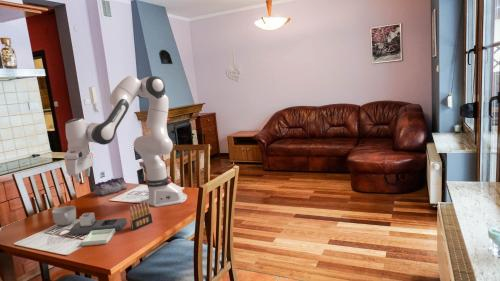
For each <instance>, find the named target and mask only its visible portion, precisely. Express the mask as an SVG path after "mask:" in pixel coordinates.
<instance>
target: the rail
mask: <svg viewBox="0 0 500 281" xmlns="http://www.w3.org/2000/svg"><path fill="white" fill-rule="evenodd" d="M95 221H96V223H95V224H94V225H93V226H92V227H83V228H81V224H80V221H77V222H75V224H74V225H73V226H72V227H71V228H69V232H70V236H77V235H76V234H80V235H88V234H87V233H90V232H91V231H94V230H105V229H115V232H119V231H120V232H121V231H123V229H124V228H125V227H126V225H127V224H128V222H127V217H122V218H109V219H99V220H98V219H97V220H95Z"/></svg>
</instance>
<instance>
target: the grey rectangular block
mask: <svg viewBox="0 0 500 281" xmlns="http://www.w3.org/2000/svg"><path fill="white" fill-rule="evenodd" d="M78 219H79V222H80V224H81V228H83V227H92V226H93V225H94V224H95V223H96V221H97V220H96V216H95V212H85V213H82V215H80V216H79V218H78Z"/></svg>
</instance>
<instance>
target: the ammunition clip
mask: <svg viewBox="0 0 500 281" xmlns="http://www.w3.org/2000/svg"><path fill="white" fill-rule="evenodd" d="M129 213H130V214H129V216H130V227H131V230H130V231H137V230H139V229H141V228H143V227H146V226H148V225H151V224H153V216H152V213H151V208H150V206H149V204H148V200H145V201H142V203H141V202H139V204H138V203H137V204H136V206H135V205H133V207H132V206H131V205H130V207H129Z"/></svg>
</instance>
